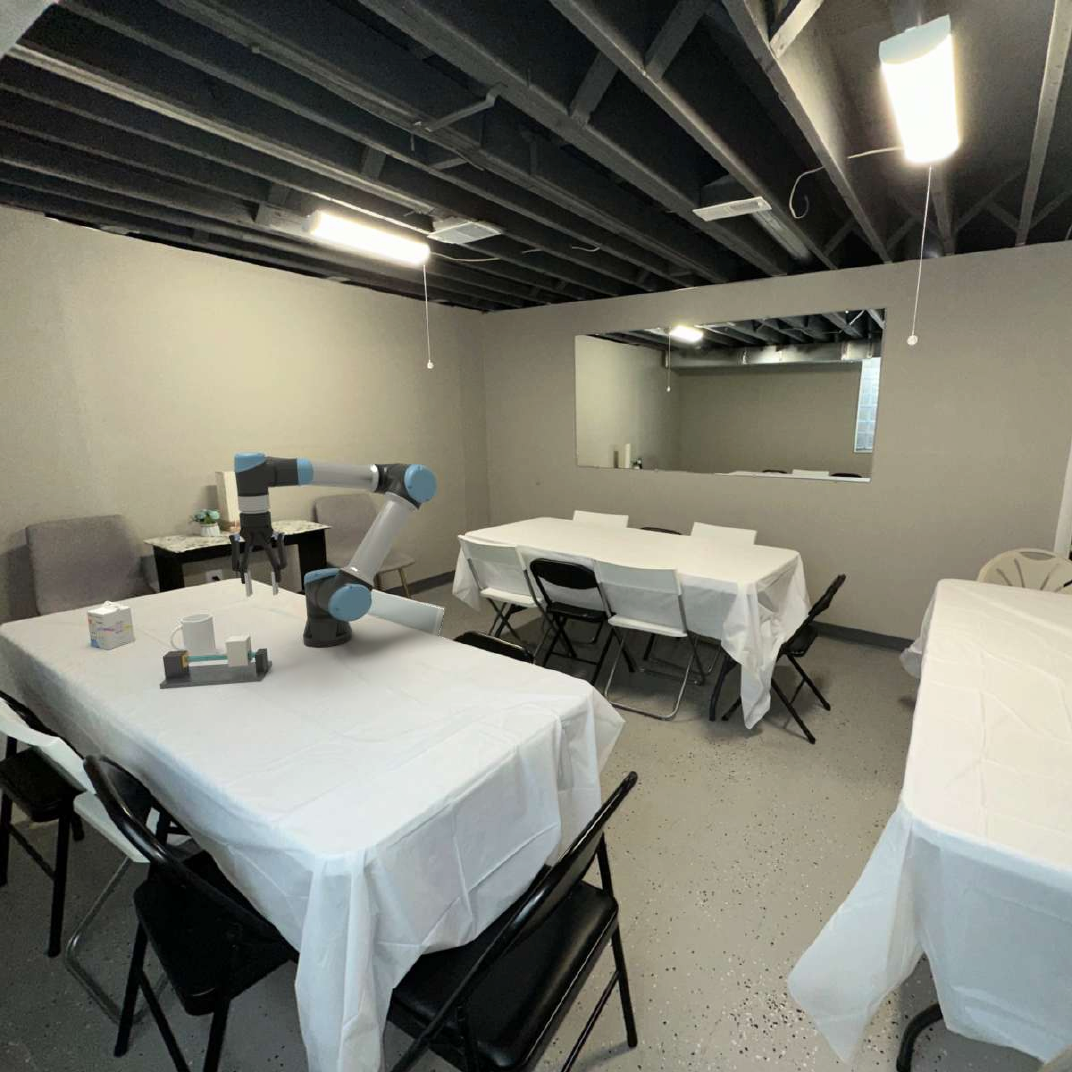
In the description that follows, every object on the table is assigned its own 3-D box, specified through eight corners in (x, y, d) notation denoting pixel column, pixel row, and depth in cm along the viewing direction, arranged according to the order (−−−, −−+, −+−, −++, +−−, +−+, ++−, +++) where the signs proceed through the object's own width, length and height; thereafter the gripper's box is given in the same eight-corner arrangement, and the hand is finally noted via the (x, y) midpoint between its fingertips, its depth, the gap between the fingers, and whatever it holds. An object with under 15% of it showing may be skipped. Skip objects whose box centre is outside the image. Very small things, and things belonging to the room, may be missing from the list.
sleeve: (252, 659, 160) (250, 635, 159) (247, 665, 156) (245, 640, 155) (233, 660, 160) (230, 636, 158) (228, 666, 156) (225, 641, 154)
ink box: (90, 646, 179) (84, 605, 177) (118, 637, 187) (112, 598, 184) (108, 650, 176) (102, 609, 173) (135, 641, 184) (130, 601, 181)
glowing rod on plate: (272, 664, 165) (269, 640, 164) (260, 681, 154) (258, 655, 153) (178, 671, 161) (175, 646, 159) (160, 688, 150) (156, 662, 149)
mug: (176, 666, 164) (171, 627, 162) (168, 658, 170) (163, 620, 168) (221, 655, 172) (216, 617, 170) (212, 647, 178) (207, 610, 176)
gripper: (295, 508, 156) (302, 588, 161) (221, 510, 153) (230, 592, 158) (289, 512, 149) (296, 596, 154) (210, 514, 146) (220, 600, 150)
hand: (262, 594), depth 156 cm, fingers open, 6 cm apart
